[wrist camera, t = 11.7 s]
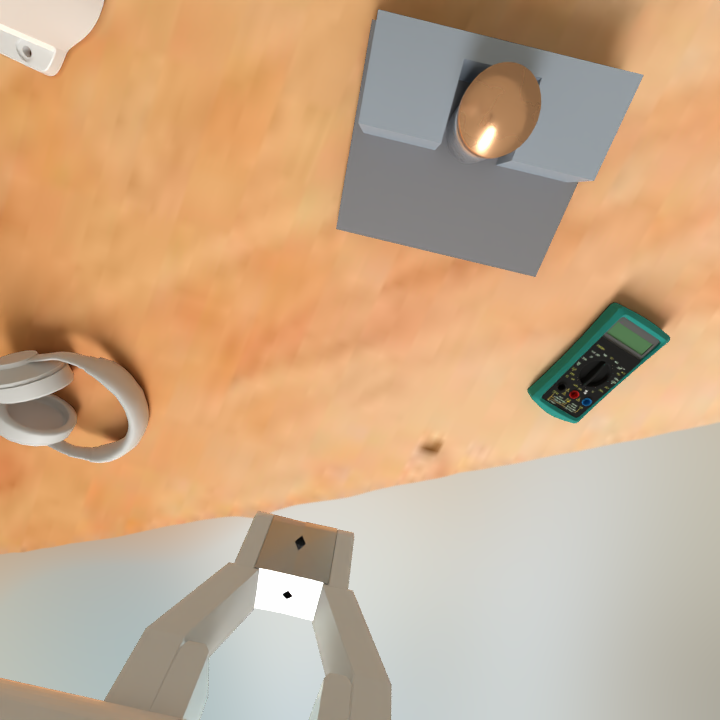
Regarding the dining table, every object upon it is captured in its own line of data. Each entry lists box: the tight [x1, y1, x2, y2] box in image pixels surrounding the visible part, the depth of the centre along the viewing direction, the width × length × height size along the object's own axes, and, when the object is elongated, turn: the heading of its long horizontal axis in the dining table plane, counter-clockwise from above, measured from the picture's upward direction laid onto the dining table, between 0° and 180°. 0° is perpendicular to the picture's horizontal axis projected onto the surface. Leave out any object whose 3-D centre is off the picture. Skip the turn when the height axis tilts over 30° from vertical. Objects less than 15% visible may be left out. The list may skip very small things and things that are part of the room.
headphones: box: [0, 350, 149, 463], centre depth 49 cm, size 18×8×20 cm
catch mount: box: [336, 9, 643, 277], centre depth 31 cm, size 22×17×6 cm
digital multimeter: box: [528, 303, 670, 423], centre depth 41 cm, size 7×15×3 cm, turn 151°
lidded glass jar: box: [446, 62, 541, 164], centre depth 27 cm, size 5×5×9 cm
